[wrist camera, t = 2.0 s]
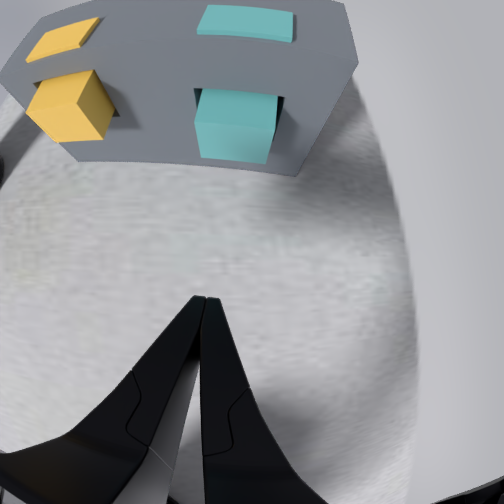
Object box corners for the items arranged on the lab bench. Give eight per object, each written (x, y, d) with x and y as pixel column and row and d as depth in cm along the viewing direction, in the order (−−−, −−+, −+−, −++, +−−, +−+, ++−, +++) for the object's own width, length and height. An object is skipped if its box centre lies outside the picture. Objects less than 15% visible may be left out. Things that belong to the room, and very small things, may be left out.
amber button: (103, 139, 14) (76, 103, 10) (56, 142, 14) (25, 112, 10) (121, 94, 15) (101, 55, 11) (74, 99, 15) (50, 66, 11)
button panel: (295, 176, 23) (360, 58, 9) (78, 161, 22) (-6, 75, 8) (297, 119, 24) (345, 0, 10) (97, 110, 22) (39, 15, 9)
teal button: (265, 164, 17) (274, 130, 13) (201, 157, 17) (194, 122, 13) (269, 118, 17) (278, 80, 13) (210, 112, 17) (207, 73, 13)
